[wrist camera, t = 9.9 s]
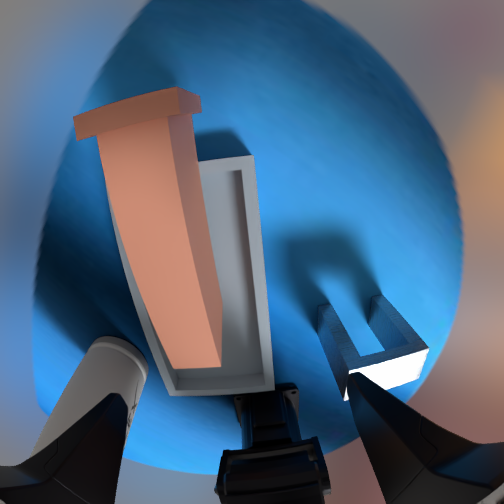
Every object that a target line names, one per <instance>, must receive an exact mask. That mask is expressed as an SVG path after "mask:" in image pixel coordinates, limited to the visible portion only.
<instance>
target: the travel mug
mask: <svg viewBox="0 0 504 504" xmlns="http://www.w3.org/2000/svg"><path fill="white" fill-rule="evenodd" d="M147 375H148V364H147V362H146V360H145V358H144V356H143V355H142V353H141V352H140V351H139V350H138V349H137V348H135V347H134V346H133V345H132V344H130V343H128V342H127V341H125V340H122V339H120V338H117V337H112V336H103V337H100V338H98V339H96V340H95V341H94V342H93V343H92V345H91V346H90V348H89V350H88V352H87V353H86V354H85V356H84V357H83V359H82V361H81V362H80V364H79V366H78V367H77V369H76V371H75V372H74V374H73V376H72V377H71V379H70V381H69V382H68V384H67V386H66V388H65V389H64V391H63V393H62V395H61V396H60V398H59V400H58V402H57V404H56V406H55V407H54V409H53V411H52V413H51V415H50V417H49V419H48V421H47V423H46V425H45V426H44V429H43V431H42V433H41V434H40V437H39V439H38V441H37V443H36V445H35V447H34V449H33V451H32V453H31V456H30V457H32V456H33V455H35V454H36V453H38V452H39V451H41V450H42V449H44V448H45V447H46V446H48V445H49V444H50V443H51V442H53V441H54V440H55V439H56V438H58V437H59V436H60V435H61V434H62V433H63V432H65V431H66V430H67V429H68V428H69V427H71V426H72V425H73V424H74V423H75V422H76V421H78V420H79V419H80V418H81V417H82V416H84V415H85V414H86V413H87V412H88V411H89V410H91V409H92V408H93V407H94V406H95V405H97V404H98V403H99V402H100V401H101V400H102V399H104V398H105V397H106V396H107V395H108V394H109V393H119V394H121V396H122V397H123V399H124V401H125V402H126V404H127V406H128V419H127V429H126V439H125V444H126V441H127V437H128V434H129V431H130V427H131V424H132V421H133V417H134V414H135V411H136V408H137V405H138V402H139V399H140V396H141V393H142V389H143V386H144V384H145V381H146V378H147ZM124 448H125V445H124ZM123 451H124V450H123Z"/></svg>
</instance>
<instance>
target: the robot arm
mask: <svg viewBox="0 0 504 504" xmlns="http://www.w3.org/2000/svg"><path fill="white" fill-rule="evenodd" d="M346 389H347V395H348V398H349V402H350V406H351V409H352V413H353V417H354V421H355V424H356V427H357V430H358V432H359V435H360V437H361V440H362V442H363V445H364V447H365V449H366V452H367V454H368V457H369V459H370V462H371V464H372V467H373V470H374V472H375V475H376V477H377V480H378V483H379V485H380V488H381V491H382V493H383V496H384V499H385V501H386V504H504V442H498V443H488V444H480V443H475V442H472V441H469V440H467V439H465V438H463V437H461V436H459V435H457V434H454V433H452V432H450V431H448V430H446V429H444V428H442V427H441V426H439V425H437V424H435V423H434V422H432V421H430V420H429V419H427V418H426V417H424V416H421V414H420V413H418V412H417V411H415V410H414V409H412V408H411V407H409V406H408V405H407V404H405V403H404V402H402V401H401V400H399V399H398V398H396V397H395V396H394V395H392V394H391V393H389V392H388V391H386V390H385V389H384V388H382V387H381V386H379V385H378V384H376V383H375V382H374V381H372V380H371V379H369V378H368V377H367V376H365V375H364V374H362V373H361V372H359V371H357V372H353V373H350V374H349V375H348V380H347V388H346ZM234 403H235V407H236V411H237V415H238V418H239V422H240V426H241V429H242V449H240V450H223V455H222V457H221V460H220V466H219V471H218V477H217V483H216V486H215V488H214V491H215V493H216V494H217V495H218V496H219V498H220V502H221V504H325V501H324V496H323V495H328V494H331V486H330V480H329V474H328V470H327V466H326V463H325V460H324V456H323V453H322V450H321V447H320V444H319V441H318V437H317V436H315V437H311V438H310V439H306V440H302V439H301V434H300V430H299V425H298V408H299V390H298V388H297V387H288V388H281V389H275V390H271V391H262V392H252V393H241V394H234ZM127 419H128V406H127V404H126V402H125V401H124V399H123V397H122V396H121V394H119V393H109V394H108V395H107V396H106V397H105V398H104V399H102V400H101V401H100V402H99V403H98V404H97V405H95V406H94V407H93V408H92V409H91V410H89V411H88V412H87V413H86V414H85V415H84V416H82V417H81V418H80V419H79V420H78V421H76V422H75V423H74V424H73V425H72V426H71V427H69V428H68V429H67V430H66V431H65V432H63V433H62V434H61V435H60V436H59V437H58V438H56V439H55V440H54V441H53V442H51V443H50V444H49V445H48V446H46V447H45V448H44V449H42V450H41V451H39V452H38V453H36V454H35V455H33V456H32V457H30V458H29V459H27V460H26V461H24V462H23V463H21V464H19V465H16V466H0V504H114V503H115V496H116V489H117V483H118V477H119V471H120V466H121V460H122V455H123V450H124V445H125V439H126V429H127Z"/></svg>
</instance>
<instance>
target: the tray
mask: <svg viewBox="0 0 504 504" xmlns="http://www.w3.org/2000/svg"><path fill="white" fill-rule="evenodd" d="M198 165H199V172H200V179H201V185H202V191H203V198H204V204H205V210H206V216H207V222H208V228H209V233H210V239H211V245H212V250H213V256H214V261H215V266H216V272H217V277H218V282H219V287H220V292H221V297H222V302H223V313H222V355H221V367H209V368H185V369H173V367H172V365H171V363H170V361H169V359H168V356H167V354H166V352H165V350H164V348H163V346H162V344H161V341H160V339H159V337H158V335H157V332H156V330H155V328H154V325H153V323H152V321H151V318H150V316H149V314H148V311H147V309H146V306H145V304H144V301H143V299H142V296H141V293H140V291H139V288H138V286H137V283H136V280H135V277H134V275H133V272H132V269H131V266H130V263H129V260H128V257H127V254H126V251H125V248H124V245H123V242H122V239H121V235H120V232H119V229H118V225H117V222H116V219H115V215H114V211H113V208H112V204H111V200H110V196H109V192H108V188H107V184H106V180H105V184H106V190H107V196H108V201H109V206H110V212H111V217H112V221H113V226H114V231H115V235H116V239H117V244H118V248H119V252H120V256H121V260H122V263H123V267H124V271H125V274H126V278H127V281H128V285H129V288H130V292H131V295H132V298H133V301H134V304H135V307H136V310H137V314H138V316H139V319H140V322H141V325H142V328H143V331H144V334H145V336H146V339H147V342H148V344H149V347H150V350H151V352H152V355H153V357H154V360H155V362H156V365H157V367H158V369H159V372H160V374H161V377H162V379H163V381H164V383H165V386H166V388H167V390H168V392H169V395H170V396H206V395H227V394H241V393H252V392H262V391H271V390H275V385H274V372H273V360H272V348H271V335H270V324H269V312H268V300H267V289H266V278H265V267H264V256H263V245H262V234H261V224H260V213H259V203H258V193H257V183H256V173H255V163H254V155H249V156H239V157H230V158H222V159H215V160H207V161H200V162H198Z"/></svg>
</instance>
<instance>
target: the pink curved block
mask: <svg viewBox="0 0 504 504" xmlns="http://www.w3.org/2000/svg"><path fill="white" fill-rule="evenodd" d="M201 112H202V110H201V101H200V96H199V95H196V94H194V93H191V92H189V91H187V90H184V89H182V88H179V87H172V88H167V89H162V90H158V91H154V92H150V93H146V94H142V95H138V96H134V97H131V98H127V99H124V100H120V101H117V102H114V103H111V104H107V105H104V106H101V107H99V108H96V109H93V110H90V111H87V112H85V113H82V114H79V115H77V116H74V117H73V119H74V126H75V132H76V138H77V141H79V140H82V139H85V138H89V137H92V136H96V135H97V141H98V147H99V152H100V157H101V162H102V166H103V171H104V175H105V180H106V184H107V188H108V192H109V196H110V200H111V204H112V208H113V211H114V215H115V219H116V222H117V225H118V229H119V232H120V235H121V239H122V242H123V245H124V248H125V251H126V254H127V257H128V260H129V263H130V266H131V269H132V272H133V275H134V277H135V280H136V283H137V286H138V288H139V291H140V293H141V296H142V299H143V301H144V304H145V306H146V309H147V311H148V314H149V316H150V318H151V321H152V323H153V325H154V328H155V330H156V332H157V335H158V337H159V339H160V341H161V344H162V346H163V348H164V350H165V352H166V354H167V356H168V359H169V361H170V363H171V365H172V367H173V369H185V368H209V367H221V355H222V313H223V302H222V297H221V292H220V287H219V282H218V277H217V272H216V266H215V261H214V256H213V250H212V245H211V239H210V233H209V228H208V222H207V216H206V210H205V204H204V198H203V191H202V185H201V179H200V172H199V165H198V159H197V152H196V145H195V137H194V130H193V122H192V114H195V113H201Z"/></svg>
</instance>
